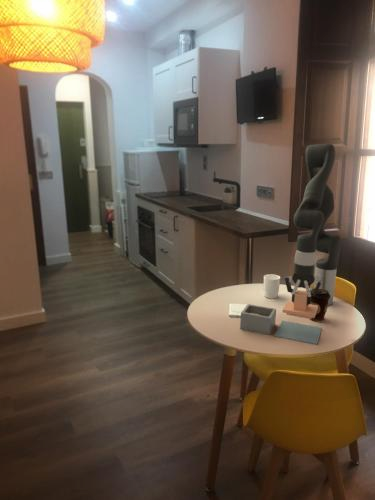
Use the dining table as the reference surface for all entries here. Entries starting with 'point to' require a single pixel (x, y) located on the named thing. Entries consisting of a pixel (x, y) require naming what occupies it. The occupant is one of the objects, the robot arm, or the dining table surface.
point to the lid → (300, 306)
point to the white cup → (271, 285)
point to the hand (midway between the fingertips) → (300, 303)
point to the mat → (298, 332)
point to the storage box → (258, 319)
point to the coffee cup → (320, 304)
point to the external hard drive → (236, 310)
